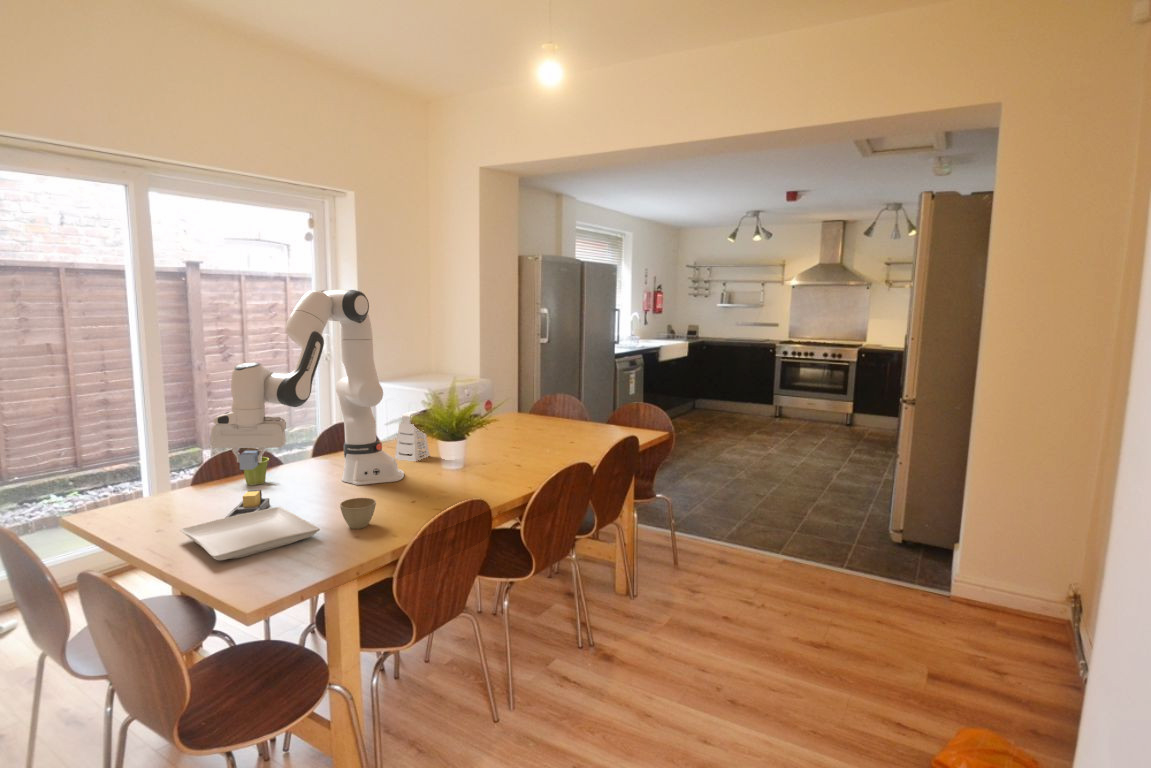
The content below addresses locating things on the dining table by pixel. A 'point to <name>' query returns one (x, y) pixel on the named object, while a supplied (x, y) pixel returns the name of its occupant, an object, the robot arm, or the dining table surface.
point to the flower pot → (358, 511)
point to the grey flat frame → (249, 508)
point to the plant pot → (257, 473)
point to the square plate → (250, 533)
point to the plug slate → (248, 459)
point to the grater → (410, 440)
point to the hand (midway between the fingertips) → (249, 462)
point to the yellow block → (252, 498)
